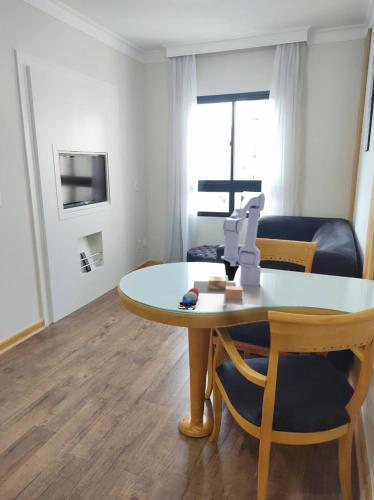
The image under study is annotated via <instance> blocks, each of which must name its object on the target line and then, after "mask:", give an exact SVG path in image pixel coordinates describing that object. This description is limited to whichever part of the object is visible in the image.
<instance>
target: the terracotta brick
mask: <svg viewBox="0 0 374 500" xmlns="http://www.w3.org/2000/svg"><path fill="white" fill-rule="evenodd" d="M243 293H244V292H243V287H242V286H236V287H234V286H226V292H225V294H224V296H225V300H235V301H237V300H239V301H242V300H243Z"/></svg>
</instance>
